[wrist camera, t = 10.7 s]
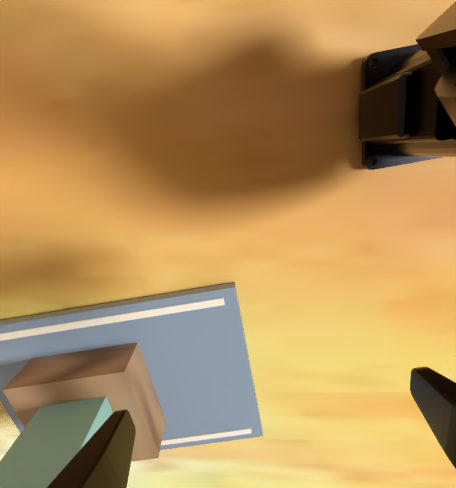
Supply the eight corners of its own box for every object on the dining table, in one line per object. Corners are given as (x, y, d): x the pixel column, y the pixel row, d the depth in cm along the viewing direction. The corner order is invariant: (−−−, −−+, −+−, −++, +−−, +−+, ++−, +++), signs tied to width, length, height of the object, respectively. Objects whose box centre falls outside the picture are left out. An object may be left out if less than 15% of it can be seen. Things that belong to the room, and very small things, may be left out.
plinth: (137, 342, 21) (124, 371, 18) (166, 421, 24) (158, 457, 21) (31, 358, 22) (2, 390, 19) (71, 435, 24) (51, 471, 22)
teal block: (105, 396, 19) (55, 500, 13) (127, 443, 21) (89, 553, 15) (40, 406, 19) (-37, 512, 14) (66, 452, 21) (7, 563, 15)
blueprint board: (234, 282, 20) (235, 287, 19) (261, 427, 26) (263, 437, 25) (-32, 325, 21) (-43, 332, 21) (46, 456, 27) (40, 466, 26)
